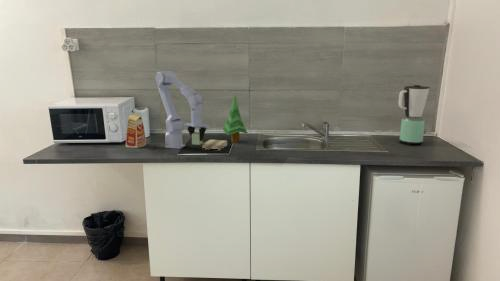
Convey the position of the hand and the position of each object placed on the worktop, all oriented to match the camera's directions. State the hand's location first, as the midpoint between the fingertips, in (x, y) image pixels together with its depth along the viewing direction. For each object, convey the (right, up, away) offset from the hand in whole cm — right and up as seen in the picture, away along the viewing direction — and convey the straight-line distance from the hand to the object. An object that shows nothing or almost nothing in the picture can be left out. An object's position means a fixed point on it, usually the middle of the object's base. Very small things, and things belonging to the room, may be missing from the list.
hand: (197, 140), depth 203 cm
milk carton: (-38, -3, +14) cm, 40 cm away
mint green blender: (+127, -2, +19) cm, 128 cm away
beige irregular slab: (+9, -4, +10) cm, 14 cm away
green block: (0, -2, 0) cm, 2 cm away
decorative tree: (+20, -1, +23) cm, 31 cm away
